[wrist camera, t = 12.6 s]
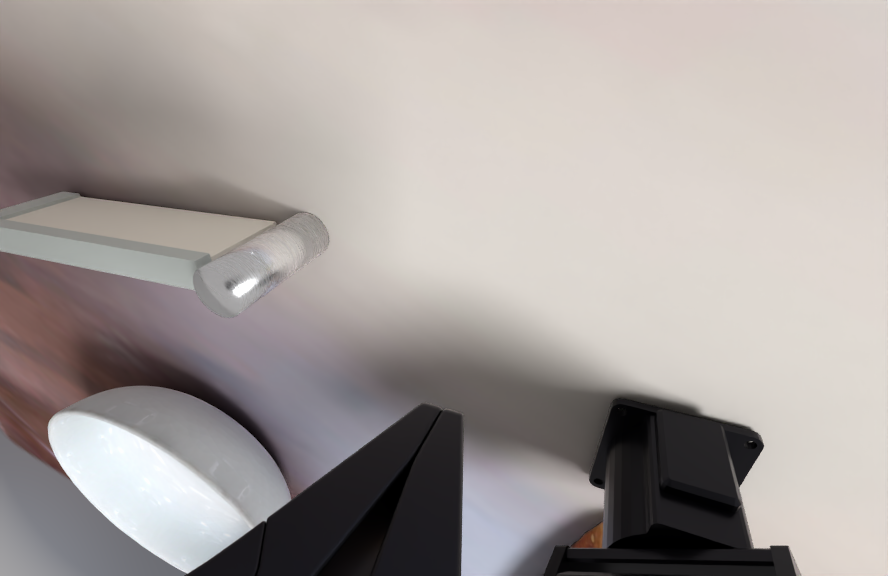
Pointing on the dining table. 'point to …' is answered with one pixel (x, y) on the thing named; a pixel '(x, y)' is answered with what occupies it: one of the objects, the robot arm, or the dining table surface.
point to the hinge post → (260, 264)
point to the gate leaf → (123, 236)
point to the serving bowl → (168, 470)
